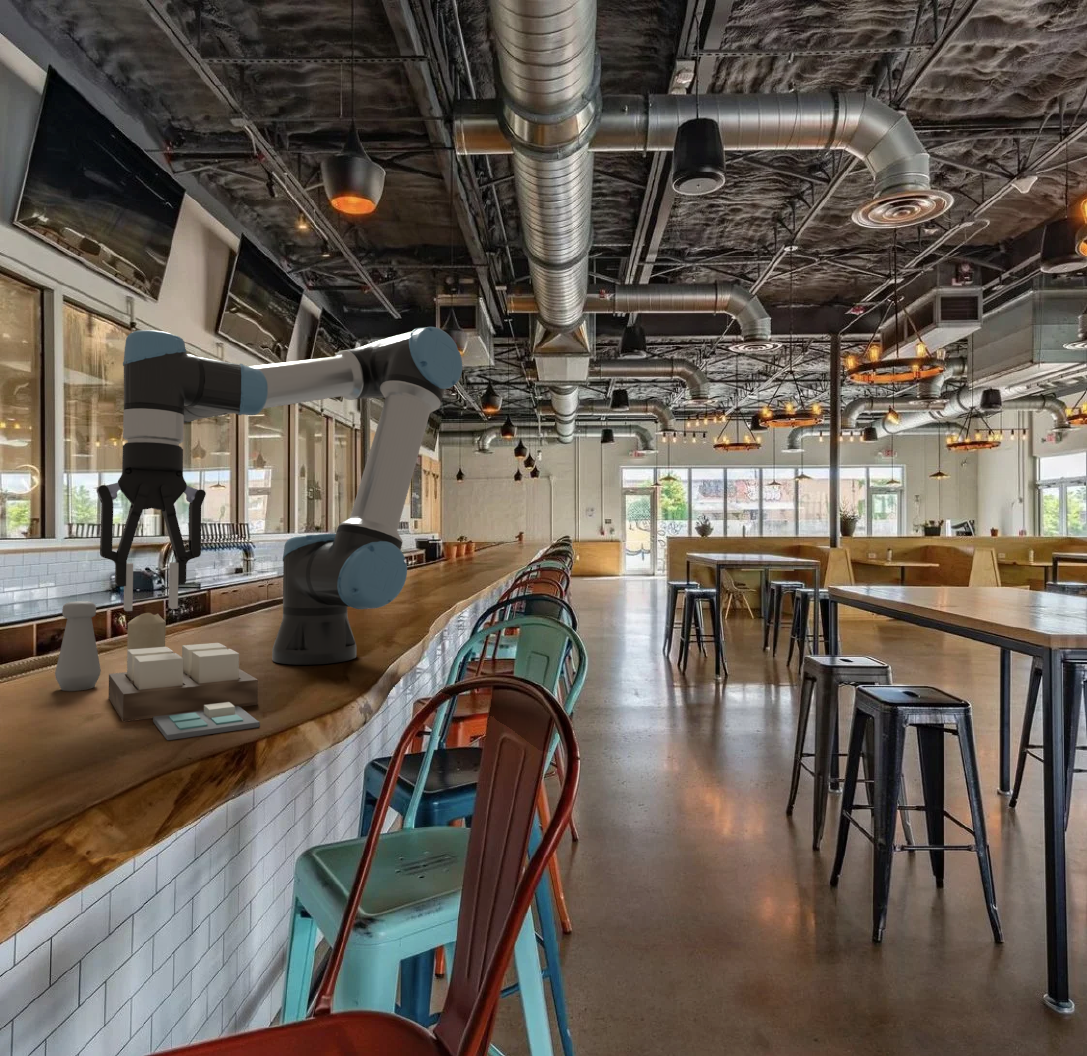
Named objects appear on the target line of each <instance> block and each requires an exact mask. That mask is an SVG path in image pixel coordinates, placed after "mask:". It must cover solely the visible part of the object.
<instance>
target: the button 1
mask: <svg viewBox="0 0 1087 1056" xmlns="http://www.w3.org/2000/svg"><path fill="white" fill-rule="evenodd" d="M126 653H127V654H126V658H127V659H126V672H127V676H128V678H129V679H130V680H131V681H134V656H147V655H159V654H171V653H174V650H172V649H171V648H169V647H168V646H165V647H156V648H142V649H129V650H127V651H126Z"/></svg>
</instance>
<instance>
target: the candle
mask: <svg viewBox="0 0 1087 1056" xmlns="http://www.w3.org/2000/svg"><path fill="white" fill-rule="evenodd" d="M166 623H167V622H166V621H165V620H164V619H163V618H162V616H160V614H159V613H156V614H153V613H151V612H145V613H141V614H140V615H137V616H136V617H134V618H133V619H131V620H129V621H128V623H127V642H126V643H127V646H126V647H127V650H129V649H142V648H156V647H166V626H167V625H166Z"/></svg>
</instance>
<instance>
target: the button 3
mask: <svg viewBox="0 0 1087 1056" xmlns="http://www.w3.org/2000/svg"><path fill="white" fill-rule="evenodd" d="M239 669H240V653H239V652H237V651H235V650H234V649H232V648H227V649H221V650H208V651H196V652H192V679H193V680H194V681H195V682H197V683H198V684H199V683H209V682H218V681H228V680H237V679H239Z"/></svg>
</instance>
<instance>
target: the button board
mask: <svg viewBox="0 0 1087 1056" xmlns="http://www.w3.org/2000/svg"><path fill="white" fill-rule="evenodd" d="M258 688H259V679H257V678H256V677H254V676H252V675H251V674H249V673H247V672H245V671H244V670H242V669H241V668H239V679H237V680H228V681H218V682H209V683H199V684H198V683H197V682H195V681H194V680H193V679H192V675H187V674H185V673H184V672H183V685H180V686H171V687H162V688H152V689H143V690H138V689H137V687H136V686H135V685H134V681H131V680H130V679H129V678H128V676H127V671H124V672H115V673H114V672H113V673H108V700H109V701H110V703H111V705H112V706H113V708H114V709H115V711H116V712H117V714H118V716H119V717H120V719H121V720H122V721H121V722H123V723H124V722H132V721H139V720H147V719H153V717H155V716H163V715H171V714H178V713H186V712H194V711H202V710H204V705H208V704H217V703H225V702H230V703H231V704H232V705H234V706H239V707H240V708H242V707H249V706H257V705H259V703H258V700H259V698H258V695H259V694H258V693H259V689H258Z"/></svg>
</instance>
